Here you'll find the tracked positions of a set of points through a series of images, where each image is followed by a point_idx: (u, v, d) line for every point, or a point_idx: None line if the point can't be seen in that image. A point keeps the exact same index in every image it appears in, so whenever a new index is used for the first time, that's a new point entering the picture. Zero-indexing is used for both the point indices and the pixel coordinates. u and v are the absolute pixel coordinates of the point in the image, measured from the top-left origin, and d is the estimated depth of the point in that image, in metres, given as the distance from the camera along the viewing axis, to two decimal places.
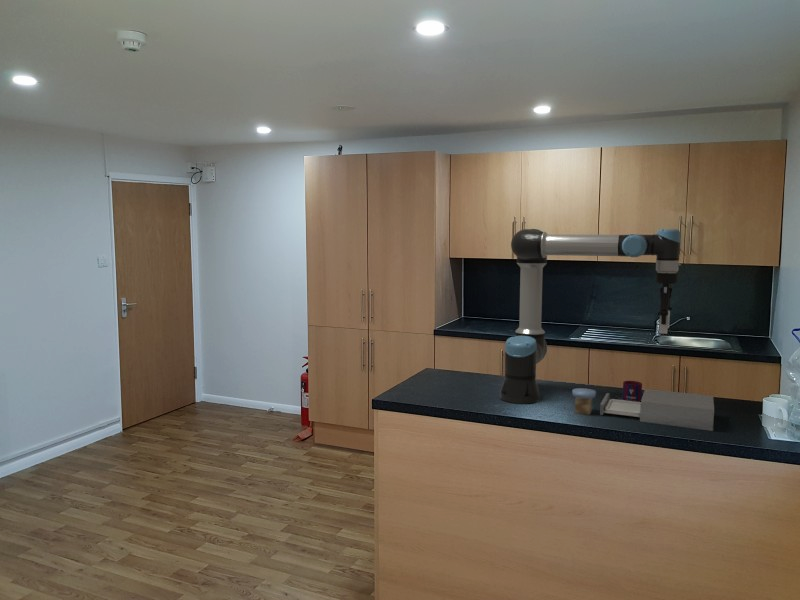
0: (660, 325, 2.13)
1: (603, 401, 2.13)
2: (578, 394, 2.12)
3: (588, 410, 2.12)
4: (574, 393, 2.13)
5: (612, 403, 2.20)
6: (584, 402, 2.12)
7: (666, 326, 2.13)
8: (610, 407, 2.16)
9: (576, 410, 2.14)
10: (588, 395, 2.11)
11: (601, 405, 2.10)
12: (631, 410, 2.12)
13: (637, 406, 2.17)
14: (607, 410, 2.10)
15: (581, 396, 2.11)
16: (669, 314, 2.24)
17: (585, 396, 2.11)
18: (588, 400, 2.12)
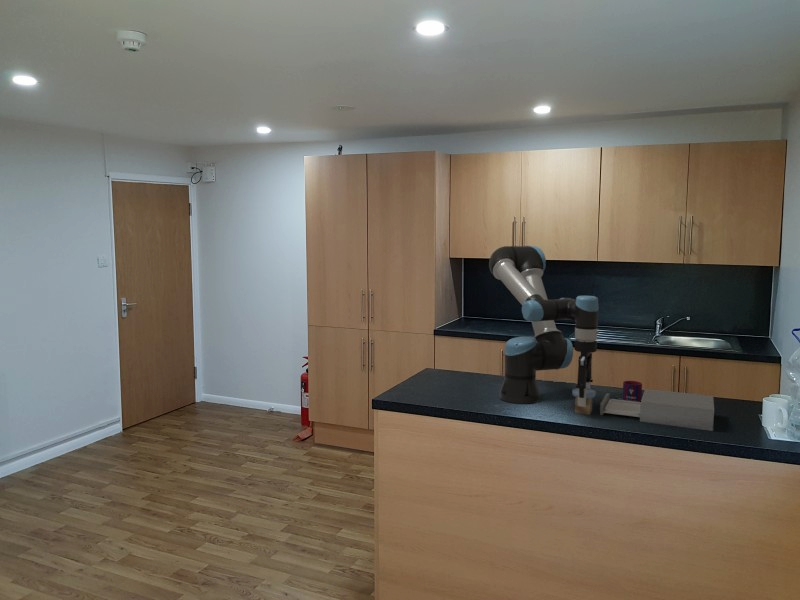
0: (578, 398, 2.11)
1: (603, 401, 2.13)
2: None
3: (588, 410, 2.12)
4: (574, 393, 2.13)
5: (612, 403, 2.20)
6: None
7: (584, 399, 2.10)
8: (610, 407, 2.16)
9: (576, 410, 2.14)
10: (588, 395, 2.11)
11: (601, 405, 2.10)
12: (631, 410, 2.12)
13: (637, 406, 2.17)
14: (607, 410, 2.10)
15: None
16: (589, 386, 2.17)
17: None
18: (588, 400, 2.12)
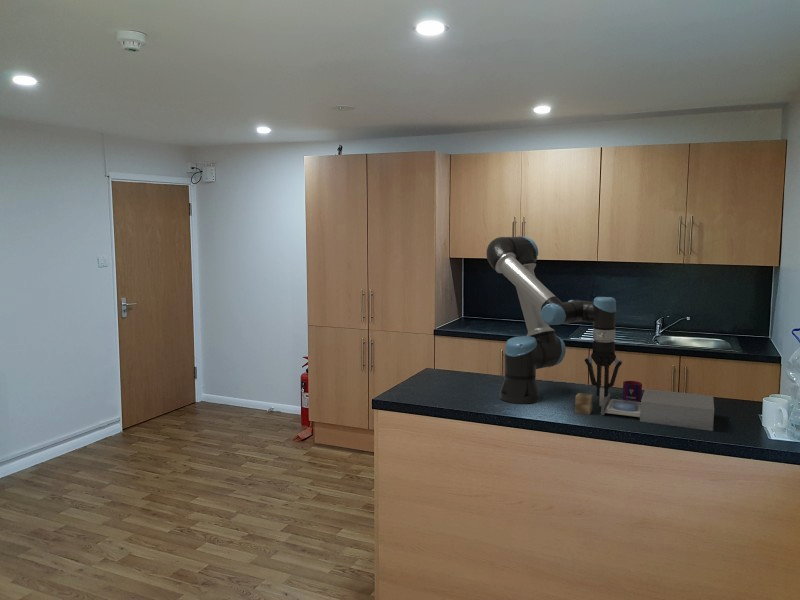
0: None
1: (604, 402, 2.13)
2: (620, 407, 2.12)
3: (588, 410, 2.12)
4: (616, 406, 2.13)
5: None
6: (584, 402, 2.12)
7: None
8: (611, 407, 2.15)
9: (576, 410, 2.14)
10: (630, 408, 2.11)
11: (602, 405, 2.10)
12: None
13: (638, 406, 2.17)
14: (608, 410, 2.10)
15: (623, 409, 2.11)
16: (602, 392, 2.16)
17: (627, 409, 2.11)
18: (588, 400, 2.12)
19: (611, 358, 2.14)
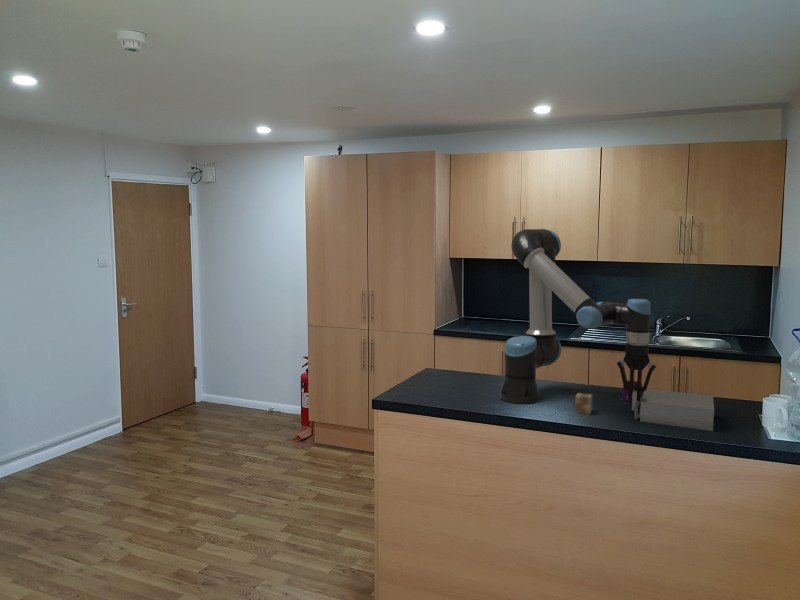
0: None
1: (637, 405, 2.08)
2: None
3: (588, 410, 2.12)
4: None
5: None
6: (584, 402, 2.12)
7: (632, 402, 2.12)
8: None
9: (576, 410, 2.14)
10: None
11: (635, 409, 2.06)
12: None
13: None
14: None
15: None
16: (634, 396, 2.12)
17: None
18: (588, 400, 2.12)
19: (645, 361, 2.09)
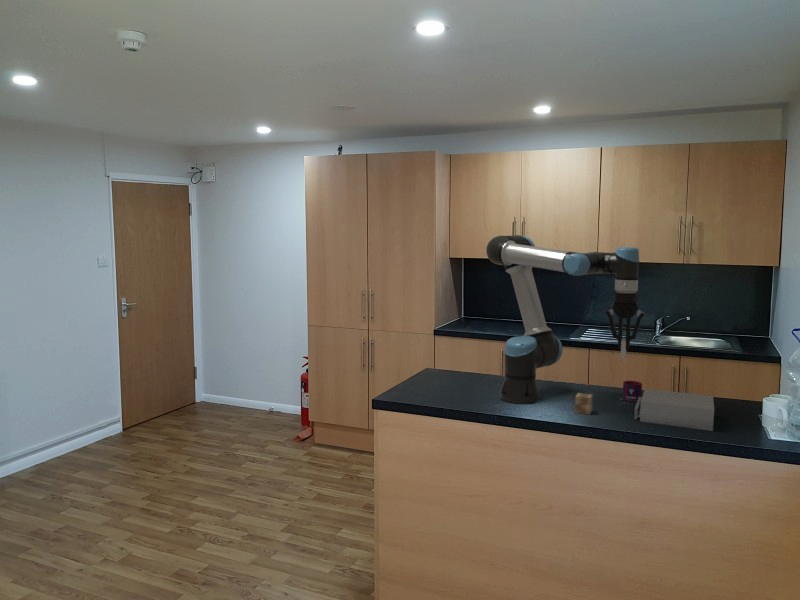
0: None
1: (637, 405, 2.08)
2: None
3: (588, 410, 2.12)
4: None
5: None
6: (584, 402, 2.12)
7: (621, 351, 2.12)
8: None
9: (576, 410, 2.14)
10: None
11: (635, 409, 2.06)
12: None
13: None
14: None
15: None
16: (623, 344, 2.12)
17: None
18: (588, 400, 2.12)
19: (633, 309, 2.09)
